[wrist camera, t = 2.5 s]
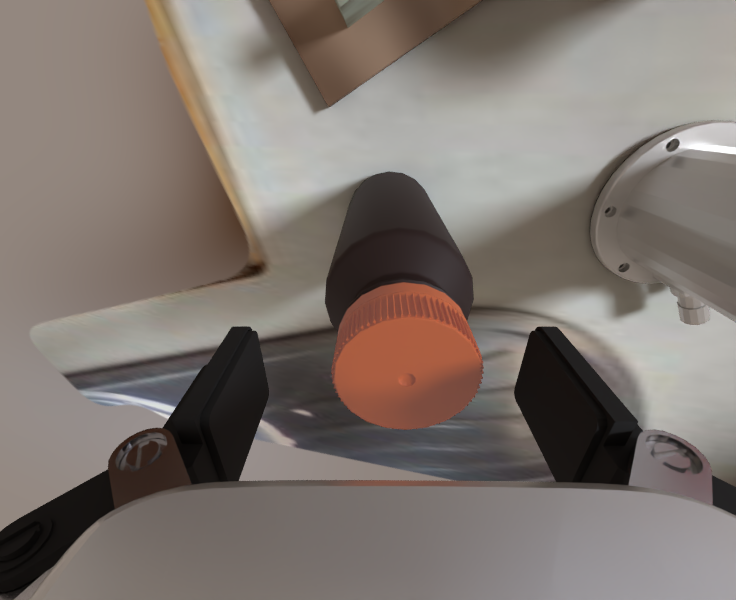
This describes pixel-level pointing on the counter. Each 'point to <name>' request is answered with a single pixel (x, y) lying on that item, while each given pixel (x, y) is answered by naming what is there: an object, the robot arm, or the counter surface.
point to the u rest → (360, 35)
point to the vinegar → (401, 309)
